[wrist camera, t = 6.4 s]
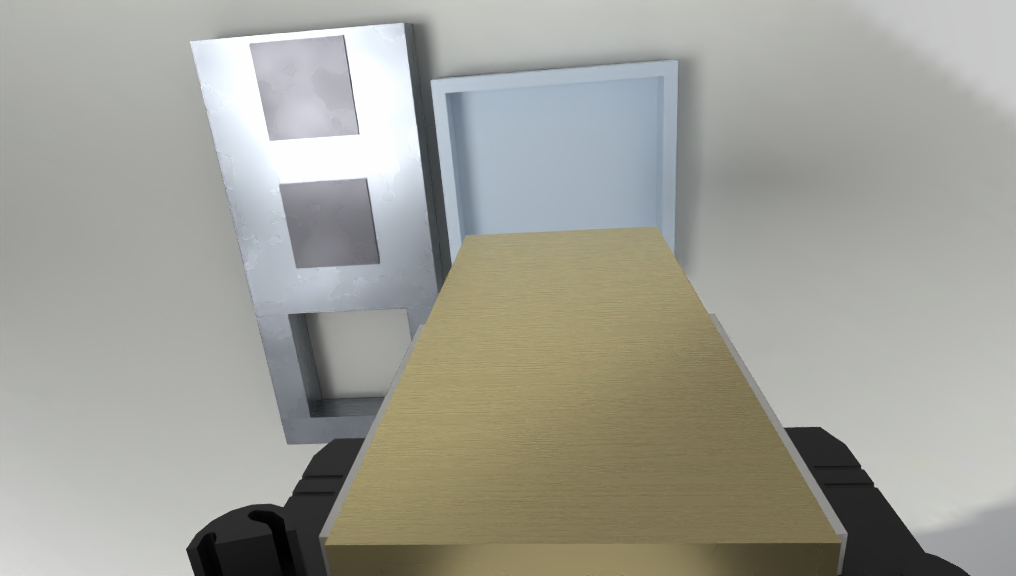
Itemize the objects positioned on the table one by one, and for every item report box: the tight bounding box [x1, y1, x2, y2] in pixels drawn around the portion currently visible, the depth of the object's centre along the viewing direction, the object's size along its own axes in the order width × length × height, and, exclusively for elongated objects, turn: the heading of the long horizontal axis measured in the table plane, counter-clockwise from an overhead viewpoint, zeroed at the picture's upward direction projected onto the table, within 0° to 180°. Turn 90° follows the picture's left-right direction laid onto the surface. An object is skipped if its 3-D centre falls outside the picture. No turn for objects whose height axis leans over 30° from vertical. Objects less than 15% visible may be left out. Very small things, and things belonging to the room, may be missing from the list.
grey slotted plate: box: [190, 23, 444, 444], centre depth 33 cm, size 10×22×2 cm, turn 4°
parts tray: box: [430, 60, 678, 265], centre depth 31 cm, size 11×11×2 cm
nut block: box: [325, 226, 842, 576], centre depth 12 cm, size 5×5×11 cm
